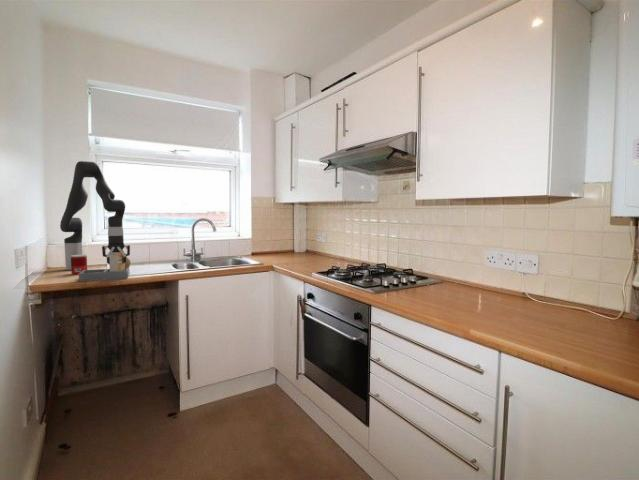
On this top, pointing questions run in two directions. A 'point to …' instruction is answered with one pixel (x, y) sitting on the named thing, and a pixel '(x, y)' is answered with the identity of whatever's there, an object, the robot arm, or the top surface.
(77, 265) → the canned food
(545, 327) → the top surface
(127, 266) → the natural sponge
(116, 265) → the supplement box
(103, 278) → the organiser tray
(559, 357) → the top surface
